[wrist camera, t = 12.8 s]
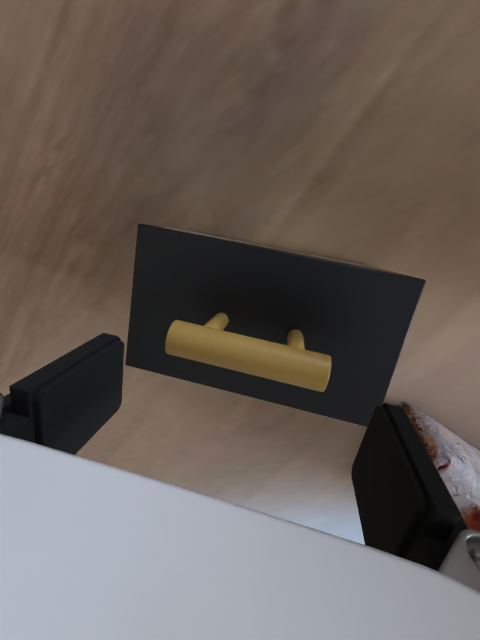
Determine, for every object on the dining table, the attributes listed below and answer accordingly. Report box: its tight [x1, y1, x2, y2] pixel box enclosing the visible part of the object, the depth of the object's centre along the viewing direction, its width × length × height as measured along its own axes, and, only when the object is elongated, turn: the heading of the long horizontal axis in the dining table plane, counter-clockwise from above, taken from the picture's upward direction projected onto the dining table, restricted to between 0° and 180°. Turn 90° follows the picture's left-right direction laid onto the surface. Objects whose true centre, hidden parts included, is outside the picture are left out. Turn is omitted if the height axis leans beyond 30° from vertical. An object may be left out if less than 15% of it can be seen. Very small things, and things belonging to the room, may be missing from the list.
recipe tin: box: [126, 224, 426, 427], centre depth 20 cm, size 16×16×9 cm
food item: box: [397, 402, 480, 531], centre depth 26 cm, size 14×8×10 cm, turn 56°
